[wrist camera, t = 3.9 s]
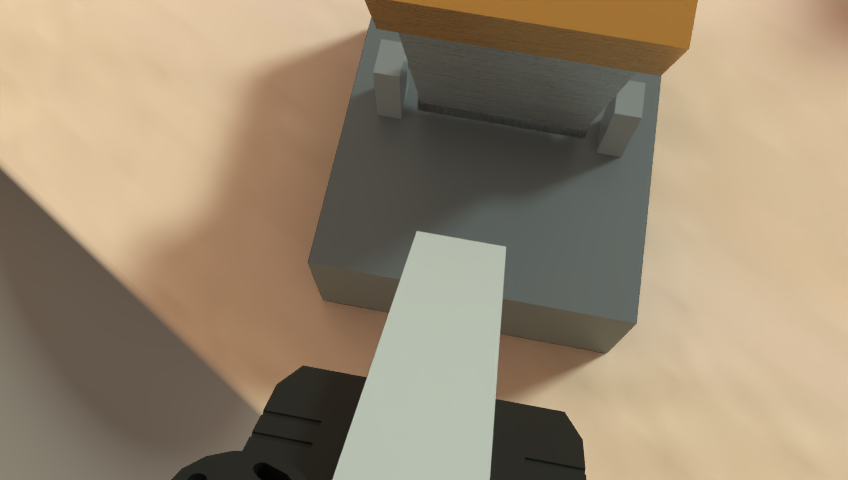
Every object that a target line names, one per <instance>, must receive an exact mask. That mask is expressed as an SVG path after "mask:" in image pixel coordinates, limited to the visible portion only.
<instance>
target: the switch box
mask: <svg viewBox="0 0 848 480" xmlns="http://www.w3.org/2000/svg"><path fill="white" fill-rule="evenodd" d="M660 82H661V76H657V75H651V74H645V73H639V72H637V73H636V74H635V75H634V76H633V77H632V78H631V79H630V80H629V82H628V83H627V84H626V85H625V86H624V87H623V88H622V89H621V90H620V92H619V93H618V94H617V95H616V96H615V97H614V98H613V99H612V100H611V101H610V103H609V104H608V105H607V106H606V107H605V108H604V109H603V110H602V111H601V113H600V114H599V115H598V116H597V117H596V118H595V119H594V120H593V121H592V123H591V124H590V125H589V128H588V131H587V134H586V137H585V138H584V139H582V138H576V137H570V136H564V135H559V134H553V133H547V132H541V131H535V130H529V129H524V128H518V127H512V126H506V125H500V124H494V123H489V122H483V121H477V120H471V119H465V118H460V117H454V116H448V115H442V114H436V113H430V112H425V111H419V110H418V92H417V89H416V86H415V83H414V80H413V77H412V74H411V71H410V67H409V64H408V61H407V58H406V55H405V52H404V49H403V46H402V43H401V40H400V36H399V33H398V32H392V31H386V30H380V29H376V26H375V24H374V21H373V19H372V17H371V21H370V24H369V28H368V32H367V36H366V40H365V44H364V48H363V52H362V55H361V59H360V63H359V67H358V71H357V75H356V79H355V82H354V86H353V90H352V94H351V98H350V102H349V106H348V109H347V113H346V117H345V121H344V125H343V129H342V133H341V136H340V140H339V144H338V148H337V152H336V156H335V160H334V163H333V167H332V171H331V175H330V179H329V183H328V187H327V190H326V194H325V198H324V202H323V206H322V210H321V214H320V218H319V221H318V225H317V229H316V233H315V237H314V241H313V245H312V248H311V252H310V256H309V260H308V264H309V267H310V269H311V272H312V274H313V277H314V279H315V282H316V284H317V287H318V289H319V292H320V294H321V297H322V299H323V300H325V301H330V302H336V303H341V304H346V305H352V306H357V307H362V308H367V309H373V310H378V311H383V312H389V311H390V308H391V305H392V303H393V300H394V297H395V294H396V291H397V288H398V285H399V282H400V279H401V276H402V273H403V270H404V267H405V264H406V261H407V258H408V255H409V252H410V250H411V247H412V244H413V241H414V238H415V235H416V232H417V231H420V232H426V233H431V234H437V235H443V236H448V237H454V238H460V239H465V240H471V241H477V242H482V243H488V244H494V245H499V246H505V247H506V257H505V271H504V285H503V300H502V314H501V328H500V334H506V335H511V336H516V337H522V338H527V339H532V340H538V341H543V342H548V343H554V344H559V345H564V346H570V347H575V348H580V349H586V350H591V351H596V352H601V353H608V352H609V351H610V350H611V349H612V348H613V347H614V346H615V345H616V344H617V343H618V342H619V341H620V340H621V339H622V338H623V337H624V336H625V335H626V334H627V333H628V332H629V331H630V330H631V329H632V328H633V327H634V326H635V325H636V324H637V314H638V304H639V294H640V284H641V274H642V264H643V254H644V244H645V234H646V224H647V213H648V203H649V193H650V183H651V173H652V163H653V153H654V143H655V133H656V123H657V113H658V102H659V92H660Z"/></svg>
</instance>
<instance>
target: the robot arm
mask: <svg viewBox="0 0 848 480" xmlns="http://www.w3.org/2000/svg"><path fill="white" fill-rule="evenodd" d="M505 257H506V247H505V246H499V245H494V244H488V243H482V242H477V241H471V240H465V239H460V238H454V237H448V236H443V235H437V234H431V233H426V232H420V231H417V232H416V235H415V238H414V241H413V244H412V247H411V250H410V252H409V255H408V258H407V261H406V264H405V267H404V270H403V273H402V276H401V279H400V282H399V285H398V288H397V291H396V294H395V297H394V300H393V303H392V305H391V308H390V311H389V314H388V317H387V320H386V323H385V326H384V329H383V332H382V335H381V338H380V341H379V344H378V347H377V350H376V353H375V356H374V358H373V361H372V364H371V367H370V370H369V373H368V376H367V378H366V377H361V376H356V375H350V374H345V373H340V372H334V371H329V370H324V369H318V368H313V367H308V366H302V367H301V368H299V369H298V370H296V371H295V372H294V373H292V374H291V375H289V376H288V377H287V378H285V379H284V380H282V381H281V382H280V383H278V384H277V385H276V387H275V389H274V391H273V393H272V395H271V397H270V399H269V401H268V403H267V404H266V406H265V408H264V411H263V415H261V416H260V418H259V420H258V422H257V424H256V426H255V428H254V429H253V432H252V436H251V437H249V439H248V441H247V443H246V445H245V447H244V449H243V451H231V452H225V453H220V454H215V455H211V456H206V457H204V458H202V459H200V460H198V461H196V462H194V463H192V464H190V465H188V466H186V467H184V468H182V469H181V470H180V471H179V472H178V473H177V474H176V476H175V477H174V478H173V479H172V480H586V474H585V461H584V450H583V440H582V438H581V437H580V435H579V434H578V432H577V430H576V429H575V427H574V426H573V424H572V423H571V421H570V420H569V418H568V417H567V415H566V414H565V412H562V411H556V410H551V409H546V408H540V407H535V406H530V405H524V404H519V403H514V402H508V401H503V400H498V399H496V385H497V371H498V357H499V342H500V328H501V314H502V300H503V285H504V271H505Z"/></svg>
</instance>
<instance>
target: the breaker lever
mask: <svg viewBox="0 0 848 480" xmlns="http://www.w3.org/2000/svg"><path fill="white" fill-rule="evenodd" d="M365 2H366V4H367V7H368V9H369V12H370V14H371V16H372V19H373V21H374V24H375V26H376V29H380V30H386V31H392V32H398V33H399V36H400V40H401V43H402V46H403V49H404V52H405V55H406V58H407V61H408V64H409V67H410V71H411V74H412V77H413V80H414V83H415V86H416V89H417V92H418V110H419V111H425V112H430V113H436V114H442V115H448V116H454V117H460V118H465V119H471V120H477V121H483V122H489V123H494V124H500V125H506V126H512V127H518V128H524V129H529V130H535V131H541V132H547V133H553V134H559V135H564V136H570V137H576V138H582V139H584V138H585V137H586V134H587V131H588V128H589V125H590V124H591V123H592V121H593V120H594V119H595V118H596V117H597V116H598V115H599V114H600V113H601V111H602V110H603V109H604V108H605V107H606V106H607V105H608V104H609V103H610V101H611V100H612V99H613V98H614V97H615V96H616V95H617V94H618V93H619V92H620V90H621V89H622V88H623V87H624V86H625V85H626V84H627V83H628V82H629V80H630V79H631V78H632V77H633V76H634V75H635V74H636V73H637V72H639V73H645V74H651V75H657V76H661V75H662V74H663V73H664V72H665V71H666V70H667V69H668V68H669V67H670V66H672V65H673V64H674V63H675V62H676V61H677V60H678V59H679V58H680V57H681V56H682V55H683V54H684V53H685V52H686V51H687V50H688V49H689V46H690V41H691V35H692V29H693V24H694V18H695V13H696V7H697V2H698V0H365Z"/></svg>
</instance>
